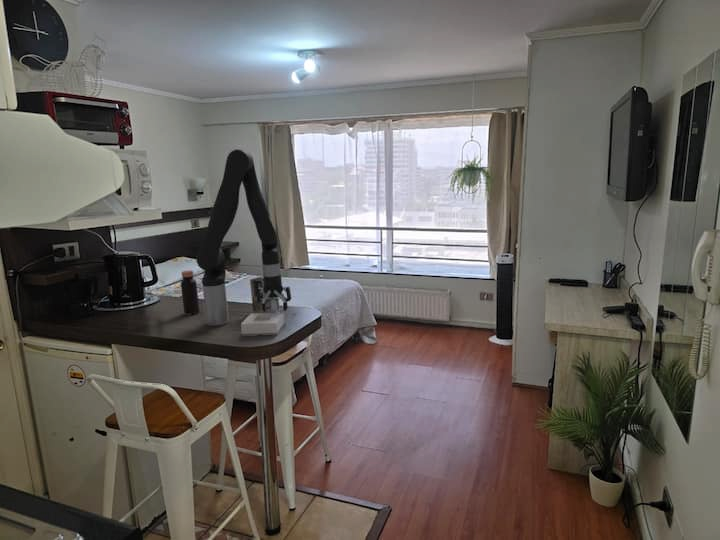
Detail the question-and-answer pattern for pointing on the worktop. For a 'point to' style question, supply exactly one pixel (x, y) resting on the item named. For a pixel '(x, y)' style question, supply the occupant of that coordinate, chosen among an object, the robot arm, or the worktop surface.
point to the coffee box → (254, 286)
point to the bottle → (189, 293)
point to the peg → (274, 305)
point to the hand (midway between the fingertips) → (275, 310)
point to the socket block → (262, 324)
